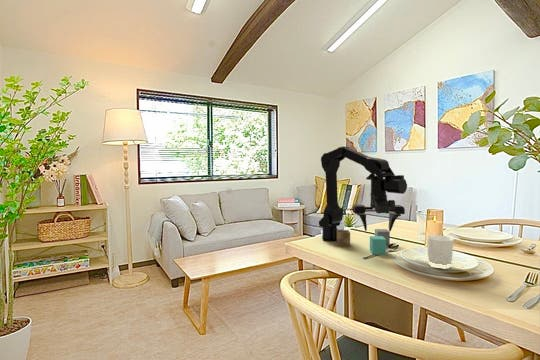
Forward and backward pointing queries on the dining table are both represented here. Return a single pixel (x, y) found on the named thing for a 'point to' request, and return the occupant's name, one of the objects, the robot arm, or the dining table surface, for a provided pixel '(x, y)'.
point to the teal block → (378, 245)
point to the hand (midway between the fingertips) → (377, 230)
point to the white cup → (440, 249)
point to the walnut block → (343, 238)
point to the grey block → (383, 234)
